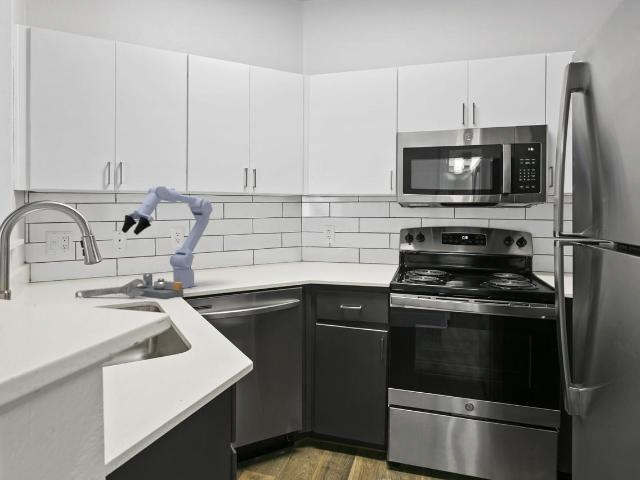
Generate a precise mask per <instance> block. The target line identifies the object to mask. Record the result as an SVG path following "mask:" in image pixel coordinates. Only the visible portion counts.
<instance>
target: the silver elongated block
mask: <svg viewBox="0 0 640 480" xmlns="http://www.w3.org/2000/svg"><path fill="white" fill-rule="evenodd" d="M153 286H154V289H171V290H177V291H180V290H183V289H182V282H173V281H169V280H165V278H157V280H155V281H153Z"/></svg>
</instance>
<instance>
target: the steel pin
mask: <svg viewBox="0 0 640 480" xmlns="http://www.w3.org/2000/svg"><path fill="white" fill-rule="evenodd" d="M142 280H144V281H145V282H146V285H148V286H154V281H153V274H152V273H143V274H142Z"/></svg>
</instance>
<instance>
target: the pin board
mask: <svg viewBox="0 0 640 480" xmlns="http://www.w3.org/2000/svg"><path fill="white" fill-rule="evenodd" d="M137 289H138V290H140V291H143V292H144V294H142V295H140V296H141V297H144V298H145V297H146V298H155V299H162V300H168V299H173V298H177V297H181V296H184V289H182V290H180V291H177V290H171V289H154V285H153V286H148V285H142V284H141V285H137ZM140 296H139V297H140Z"/></svg>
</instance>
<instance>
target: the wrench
mask: <svg viewBox="0 0 640 480" xmlns="http://www.w3.org/2000/svg"><path fill="white" fill-rule="evenodd" d="M139 285H141V286H142V285H146V282H145V281H144V280H143V278H135V279H133V280H132V281H130V282H128V283H126V284H123V285H122V286H111V287H103V288H92V289H83V290H78V291H76V292H75V295H74V296H75V298H77V297H84V298H90V297H98V296H107V295H117V294H123V295H127V296H129V299H134V298H135V297H140V295H142V294H144V292H143V291H140V290H138V289H137V286H139ZM79 293H80V294H81V295H79Z"/></svg>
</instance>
